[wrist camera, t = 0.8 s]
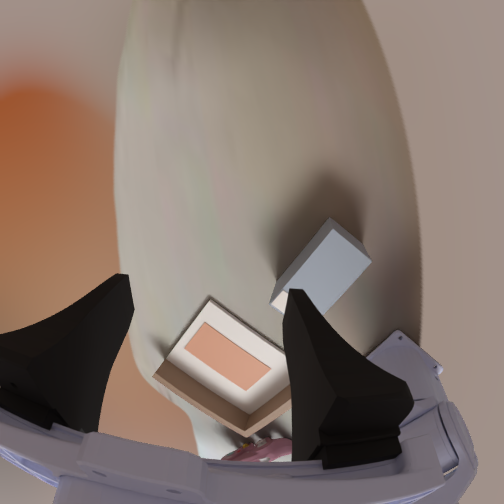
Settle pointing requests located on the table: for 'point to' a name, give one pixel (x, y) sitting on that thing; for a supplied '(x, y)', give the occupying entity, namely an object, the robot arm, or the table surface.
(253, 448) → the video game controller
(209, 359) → the tray
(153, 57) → the table surface
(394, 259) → the table surface
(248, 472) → the robot arm
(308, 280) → the slate block
